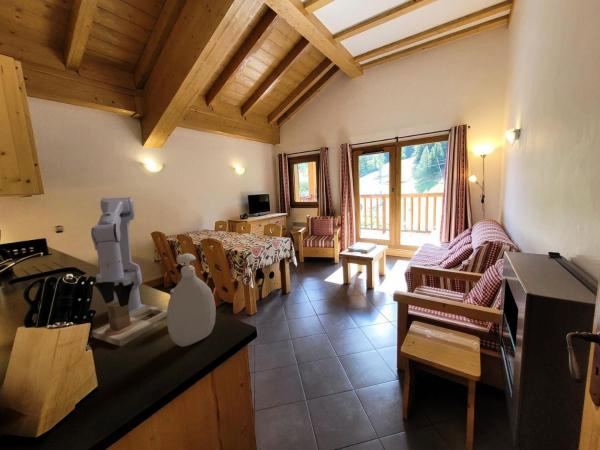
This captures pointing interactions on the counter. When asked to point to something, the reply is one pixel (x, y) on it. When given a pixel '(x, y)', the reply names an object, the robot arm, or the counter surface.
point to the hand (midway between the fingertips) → (116, 303)
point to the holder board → (132, 326)
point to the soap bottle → (190, 307)
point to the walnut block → (118, 316)
